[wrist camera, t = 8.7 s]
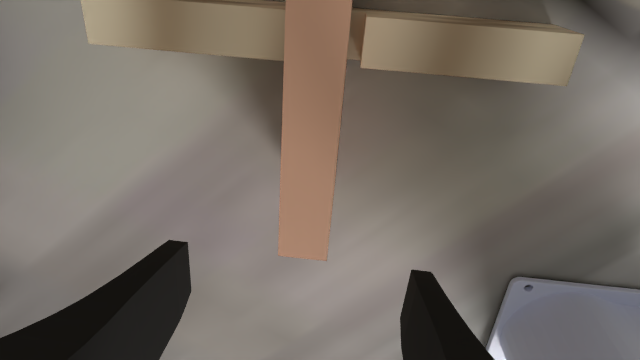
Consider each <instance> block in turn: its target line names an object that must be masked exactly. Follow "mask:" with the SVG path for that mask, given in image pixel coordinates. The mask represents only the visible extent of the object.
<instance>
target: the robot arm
mask: <svg viewBox="0 0 640 360" xmlns="http://www.w3.org/2000/svg"><path fill="white" fill-rule="evenodd" d="M526 285H530V286H528V287H525V286H526ZM190 293H191V280H190V267H189V254H188V242H181V241H173V240H169V241H167V242H166V243H164V244H163V245H161V246H160V247H158V248H157V249H156V250H154V251H153V252H152V253H150V254H149V255H147V256H146V257H145V258H143V259H142V260H141V261H139V262H138V263H136V264H135V265H133V266H132V267H131V268H129V269H128V270H126V271H125V272H123V273H122V274H121V275H119V276H118V277H116V278H115V279H113V280H111V281H110V282H108V283H107V284H105V285H104V286H102V287H100V288H99V289H97V290H96V291H94V292H93V293H91V294H89V295H88V296H86V297H84V298H83V299H81V300H79V301H77V302H76V303H74V304H72V305H70V306H68V307H66V308H64V309H63V310H61V311H59V312H57V313H55V314H53V315H51V316H49V317H47V318H45V319H42V320H40V321H38V322H36V323H34V324H32V325H29V326H27V327H25V328H23V329H21V330H19V331H16V332H14V333H12V334H9V335H7V336H4V337H2V338H0V360H159V359H160V357H161V355H162V353H163V351H164V349H165V348H166V346H167V344H168V342H169V340H170V338H171V336H172V335H173V333H174V331H175V329H176V327H177V325H178V323H179V321H180V319H181V317H182V314H183V312H184V309H185V307H186V304H187V301H188V299H189V296H190ZM400 324H401V348H402V355H403V360H640V290H638V289H629V288H620V287H610V286H601V285H592V284H582V283H573V282H564V281H554V280H545V279H536V278H526V277H516V278H513V279H512V280H511V281H510V283H509V286H508V288H507V291H506V294H505V297H504V299H503V302H502V305H501V308H500V310H499V313H498V316H497V319H496V321H495V324H494V327H493V330H492V333H491V335H490V338H489V341H488V344H487V346H486V349H485V348H484V346H483V345H482V344H481V343H480V341H479V340H478V339H477V338H476V336H475V335H474V334H473V333H472V331H471V330H470V329H469V327H468V326H467V324H466V323H465V322H464V320H463V319H462V318H461V316H460V315H459V313H458V312H457V311H456V309H455V308H454V306H453V305H452V303H451V302H450V300H449V299H448V297H447V296H446V294H445V293H444V291H443V290H442V288H441V286H440V285H439V283H438V282H437V280H436V278H435V277H434V275H433V274H432V273H431V272H427V271H419V270H411V274H410V278H409V282H408V287H407V291H406V295H405V299H404V304H403V308H402V312H401V316H400Z"/></svg>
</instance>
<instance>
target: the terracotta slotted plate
mask: <svg viewBox="0 0 640 360" xmlns="http://www.w3.org/2000/svg"><path fill="white" fill-rule="evenodd" d="M352 2H353V0H286V7H285V41H284V75H283V109H282V143H281V177H280V211H279V245H278V256H286V257H295V258H304V259H313V260H323V261H327V253H328V243H329V234H330V225H331V215H332V206H333V196H334V187H335V177H336V167H337V157H338V147H339V136H340V126H341V116H342V106H343V96H344V85H345V75H346V65H347V53H348V43H349V32H350V22H351V12H352Z"/></svg>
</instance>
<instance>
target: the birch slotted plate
mask: <svg viewBox="0 0 640 360" xmlns="http://www.w3.org/2000/svg"><path fill="white" fill-rule="evenodd" d="M81 5H82V10H83V16H84V21H85V27H86V32H87V38H88V44H97V45H108V46H120V47H131V48H142V49H153V50H165V51H176V52H187V53H198V54H210V55H221V56H232V57H244V58H255V59H266V60H277V61H284V41H285V7H286V2H277V1H265V0H81ZM583 38H584V35H583V34H580V33H577V32H574V31H571V30H568V29H565V28H562V27H559V26H556V25H553V24H542V23H530V22H518V21H506V20H493V19H481V18H469V17H457V16H445V15H433V14H421V13H409V12H397V11H385V10H373V9H361V8H352V12H351V22H350V32H349V43H348V53H347V59H351V60H361V68H367V69H379V70H390V71H401V72H413V73H424V74H435V75H446V76H458V77H469V78H480V79H491V80H503V81H514V82H525V83H537V84H548V85H559V86H567V84H568V82H569V79H570V76H571V73H572V70H573V67H574V64H575V61H576V59H577V56H578V53H579V50H580V47H581V44H582V41H583Z"/></svg>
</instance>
